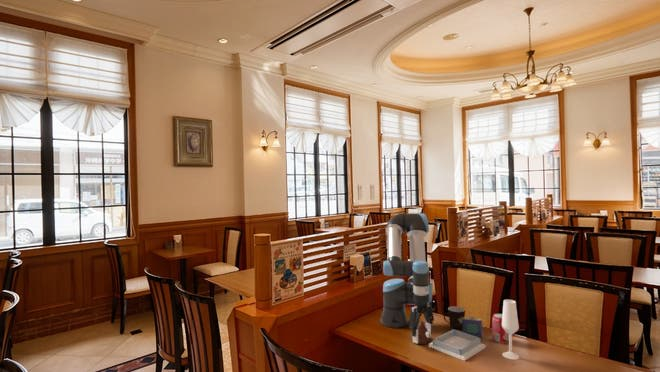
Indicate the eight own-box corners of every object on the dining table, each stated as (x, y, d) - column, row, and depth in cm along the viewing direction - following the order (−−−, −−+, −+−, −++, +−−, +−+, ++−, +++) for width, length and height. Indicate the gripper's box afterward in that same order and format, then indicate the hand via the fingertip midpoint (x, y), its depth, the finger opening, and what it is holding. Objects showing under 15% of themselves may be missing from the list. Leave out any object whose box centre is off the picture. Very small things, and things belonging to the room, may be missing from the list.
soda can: (508, 338, 174) (507, 314, 174) (508, 344, 168) (508, 319, 168) (492, 336, 177) (491, 312, 177) (492, 342, 171) (491, 317, 170)
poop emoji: (415, 335, 180) (414, 316, 180) (432, 338, 176) (432, 319, 176) (410, 343, 171) (410, 323, 171) (428, 346, 167) (428, 326, 167)
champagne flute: (516, 352, 159) (515, 299, 159) (521, 360, 153) (520, 304, 153) (500, 351, 161) (499, 298, 161) (504, 358, 154) (503, 303, 154)
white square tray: (428, 346, 167) (428, 338, 167) (450, 335, 179) (450, 327, 179) (464, 360, 153) (464, 351, 153) (485, 348, 165) (485, 339, 165)
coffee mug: (463, 325, 192) (462, 306, 192) (467, 331, 183) (467, 312, 183) (440, 324, 193) (440, 306, 193) (444, 331, 184) (443, 311, 184)
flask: (482, 336, 177) (481, 315, 177) (483, 339, 174) (482, 317, 174) (462, 334, 180) (461, 313, 179) (462, 337, 177) (462, 315, 177)
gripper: (413, 300, 164) (414, 349, 164) (440, 290, 178) (441, 335, 178) (400, 296, 169) (401, 343, 169) (428, 287, 184) (429, 330, 184)
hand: (422, 339), depth 174 cm, fingers closed on poop emoji, 10 cm apart
